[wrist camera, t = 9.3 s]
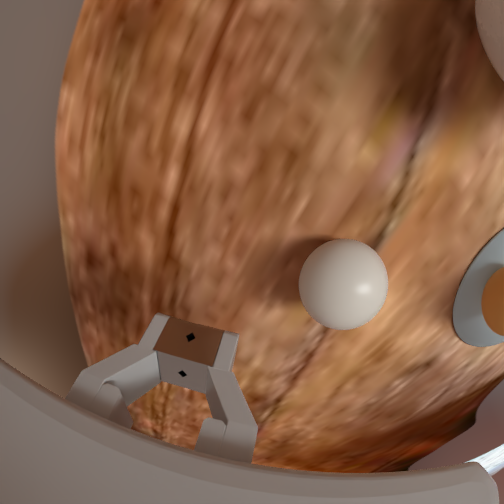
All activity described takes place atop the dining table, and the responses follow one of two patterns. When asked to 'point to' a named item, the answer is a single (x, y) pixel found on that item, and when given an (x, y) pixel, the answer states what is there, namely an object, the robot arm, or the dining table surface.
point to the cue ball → (343, 284)
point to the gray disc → (478, 295)
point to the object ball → (494, 302)
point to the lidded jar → (492, 31)
